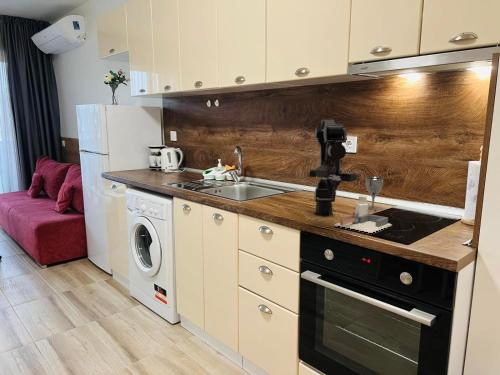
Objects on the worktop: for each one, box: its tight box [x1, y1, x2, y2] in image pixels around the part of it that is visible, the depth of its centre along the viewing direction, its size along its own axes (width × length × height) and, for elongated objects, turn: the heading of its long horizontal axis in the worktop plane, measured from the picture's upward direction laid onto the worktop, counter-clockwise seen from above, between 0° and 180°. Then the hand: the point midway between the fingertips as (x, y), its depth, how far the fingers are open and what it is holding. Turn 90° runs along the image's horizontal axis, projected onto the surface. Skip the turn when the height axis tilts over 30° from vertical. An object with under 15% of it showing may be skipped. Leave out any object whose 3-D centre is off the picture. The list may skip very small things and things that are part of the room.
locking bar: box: [339, 211, 359, 225], centre depth 146 cm, size 12×2×4 cm, turn 135°
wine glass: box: [365, 176, 384, 211], centre depth 177 cm, size 8×8×15 cm
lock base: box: [334, 213, 393, 234], centre depth 148 cm, size 16×17×3 cm
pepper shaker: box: [355, 195, 369, 217], centre depth 160 cm, size 4×4×10 cm
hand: (331, 196), depth 145 cm, fingers closed
